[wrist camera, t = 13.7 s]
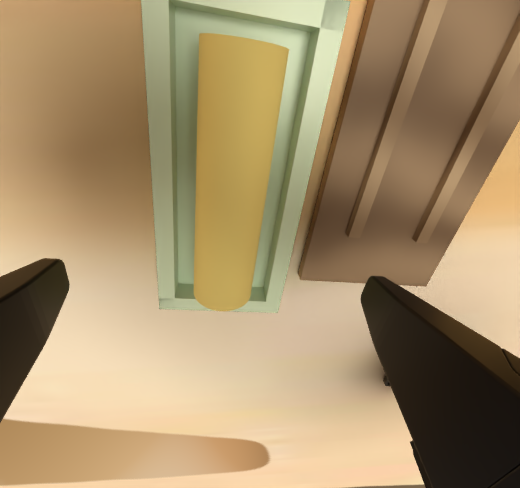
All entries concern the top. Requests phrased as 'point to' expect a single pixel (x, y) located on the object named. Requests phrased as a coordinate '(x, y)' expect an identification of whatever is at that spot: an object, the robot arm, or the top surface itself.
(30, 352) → the robot arm
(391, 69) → the holder board
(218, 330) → the top surface
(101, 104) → the top surface
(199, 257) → the yellow cylinder
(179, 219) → the tray
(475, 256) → the top surface
